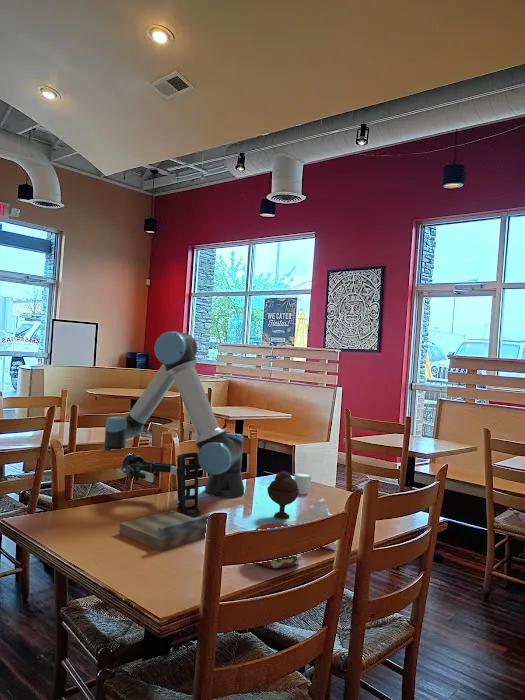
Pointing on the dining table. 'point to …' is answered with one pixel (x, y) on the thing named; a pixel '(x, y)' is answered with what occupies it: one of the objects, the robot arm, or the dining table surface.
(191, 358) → the robot arm
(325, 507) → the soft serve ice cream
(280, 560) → the burger
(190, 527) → the board
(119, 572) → the dining table surface
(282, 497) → the ice cream bowl
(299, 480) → the white cup
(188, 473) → the holder
